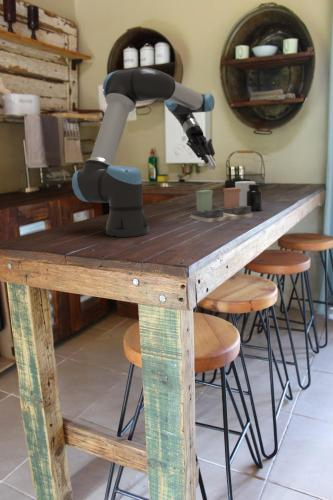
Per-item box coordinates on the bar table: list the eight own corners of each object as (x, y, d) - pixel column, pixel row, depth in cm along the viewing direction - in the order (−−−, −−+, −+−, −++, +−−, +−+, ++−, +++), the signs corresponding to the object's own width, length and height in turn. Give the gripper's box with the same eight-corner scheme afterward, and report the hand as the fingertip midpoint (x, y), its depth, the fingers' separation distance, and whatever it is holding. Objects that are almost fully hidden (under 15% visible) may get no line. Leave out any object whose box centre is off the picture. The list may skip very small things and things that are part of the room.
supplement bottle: (260, 209, 202) (261, 183, 200) (262, 211, 196) (262, 184, 193) (245, 209, 203) (246, 183, 200) (247, 211, 196) (247, 185, 194)
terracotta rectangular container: (229, 212, 183) (229, 189, 180) (223, 211, 187) (223, 188, 184) (240, 211, 185) (240, 188, 183) (233, 210, 189) (234, 187, 187)
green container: (201, 215, 176) (201, 191, 174) (195, 214, 180) (195, 190, 178) (213, 214, 179) (213, 190, 177) (207, 213, 183) (206, 189, 181)
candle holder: (231, 206, 216) (231, 182, 213) (249, 205, 219) (249, 181, 216) (240, 208, 207) (240, 183, 204) (258, 207, 210) (259, 182, 207)
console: (208, 222, 170) (208, 211, 169) (190, 218, 183) (189, 207, 182) (252, 217, 180) (252, 206, 179) (232, 213, 193) (232, 203, 191)
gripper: (202, 136, 211) (222, 172, 200) (177, 137, 204) (196, 174, 194) (208, 124, 205) (229, 160, 194) (183, 124, 198) (203, 162, 188)
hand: (213, 167), depth 194 cm, fingers closed
